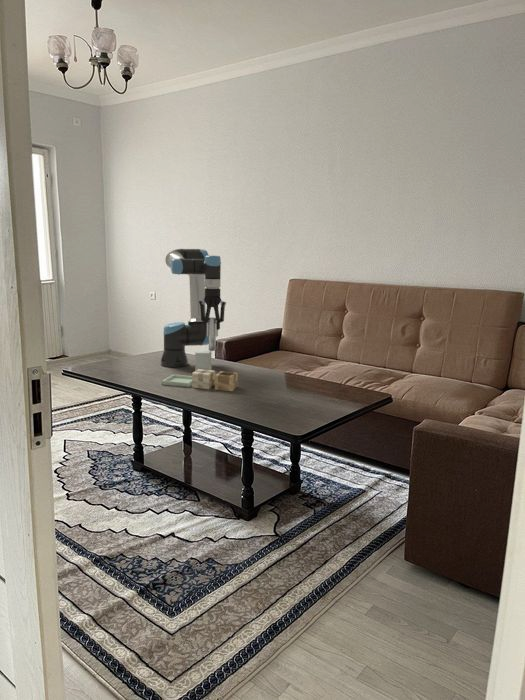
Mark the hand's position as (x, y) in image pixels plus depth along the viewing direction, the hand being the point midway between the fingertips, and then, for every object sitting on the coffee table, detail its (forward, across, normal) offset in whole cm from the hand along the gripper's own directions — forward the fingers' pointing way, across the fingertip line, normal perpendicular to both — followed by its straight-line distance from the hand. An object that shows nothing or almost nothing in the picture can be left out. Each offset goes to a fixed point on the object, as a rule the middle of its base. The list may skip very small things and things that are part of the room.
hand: (212, 335), depth 265 cm
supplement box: (+23, -9, +11) cm, 27 cm away
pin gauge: (+7, 0, 0) cm, 7 cm away
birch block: (+23, -1, -9) cm, 25 cm away
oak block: (+23, +10, -9) cm, 27 cm away
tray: (+23, -14, -7) cm, 28 cm away
